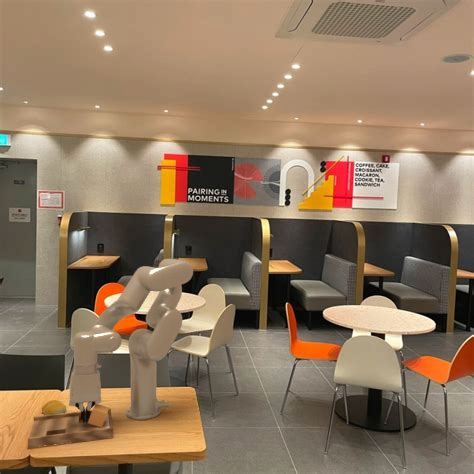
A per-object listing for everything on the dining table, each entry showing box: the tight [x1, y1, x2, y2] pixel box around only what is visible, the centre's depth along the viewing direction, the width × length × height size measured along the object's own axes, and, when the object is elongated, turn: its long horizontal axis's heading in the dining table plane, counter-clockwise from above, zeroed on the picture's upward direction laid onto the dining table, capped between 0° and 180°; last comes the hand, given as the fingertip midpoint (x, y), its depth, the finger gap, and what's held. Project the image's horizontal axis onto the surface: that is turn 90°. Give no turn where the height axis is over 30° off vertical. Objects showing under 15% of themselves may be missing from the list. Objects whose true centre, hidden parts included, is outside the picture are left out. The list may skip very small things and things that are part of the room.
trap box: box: [27, 407, 114, 450], centre depth 160 cm, size 26×17×3 cm, turn 108°
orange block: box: [88, 403, 110, 427], centre depth 162 cm, size 5×5×5 cm
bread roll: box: [41, 399, 67, 416], centre depth 176 cm, size 8×9×4 cm
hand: (85, 420), depth 161 cm, fingers closed
